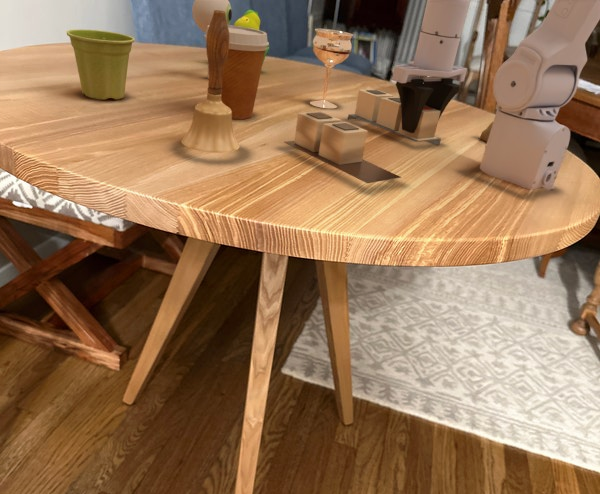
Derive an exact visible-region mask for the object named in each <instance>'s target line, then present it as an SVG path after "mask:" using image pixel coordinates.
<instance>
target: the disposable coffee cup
mask: <svg viewBox="0 0 600 494" xmlns="http://www.w3.org/2000/svg"><path fill="white" fill-rule="evenodd" d="M208 29H209V25H208V26H207V30H206V32H205V33H204V34H203V37H204V39H205V43H206V41H207V32H208ZM228 29H229V50H228V55H227V59H226V62H225V64H224V68H223V73H222V88H221V89H222V93H221V101H222V103H223V104H225V105H226V106H227V107H229V108H230V109H231V111H232V120H243V119H244V120H245V119H250V118H251V117H252V116H253V113H254V108H255V103H256V98H257V94H258V88H259V83H260V79H261V74H262V69H263V65H262V64H264V62H263V60H264V61H265V59H264V55H265V50H267V47H269V46H270V42H269V41H268V33H267V32H265V31H263V30H260V29H259V30H256V29H252V28H246V27H240V26H234V25H231V24H229V25H228ZM208 68H209V62H208V61H207V69H208Z"/></svg>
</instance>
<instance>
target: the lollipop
mask: <svg viewBox="0 0 600 494" xmlns="http://www.w3.org/2000/svg"><path fill="white" fill-rule="evenodd" d="M191 9H192V10H191V12H192V18H193V21H194V23H195V25H196V26H197V27H198V28H199V30H201V31H202V32H204V33H206V30H207V26H208V25H210V23H211V20H212V17H213V14H214V10H220V11H225V12H226V20H227V25H231V22H232V18H233V10H232V6H231V3H230V1H229V0H194V1H193V4H192V8H191ZM207 80H209V68H208V67H207Z"/></svg>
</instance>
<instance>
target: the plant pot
mask: <svg viewBox="0 0 600 494" xmlns="http://www.w3.org/2000/svg"><path fill="white" fill-rule="evenodd" d="M66 35H67V36H68V37H69V40H70V44H71V47H72V49H73V51H74V57H75V61H76V62H75V63H76V67H77V72H78V76H79V81H80V87H81V92H82V94H83V95H85V97H87V98H90V99H97V100H101V101H103V100H108V99H113V100H116V101H117V100H121V99H123V98H125V95H126V85H127V84H126V83H127V74H128V67H129V59H130V53H131V51H132V45H133V43H134V42H135V39H136V38H135V37H133V36H130V35H128V34H123V33H119V32H114V31H109V30H108V31H107V30H97V29H68V30H66Z"/></svg>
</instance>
